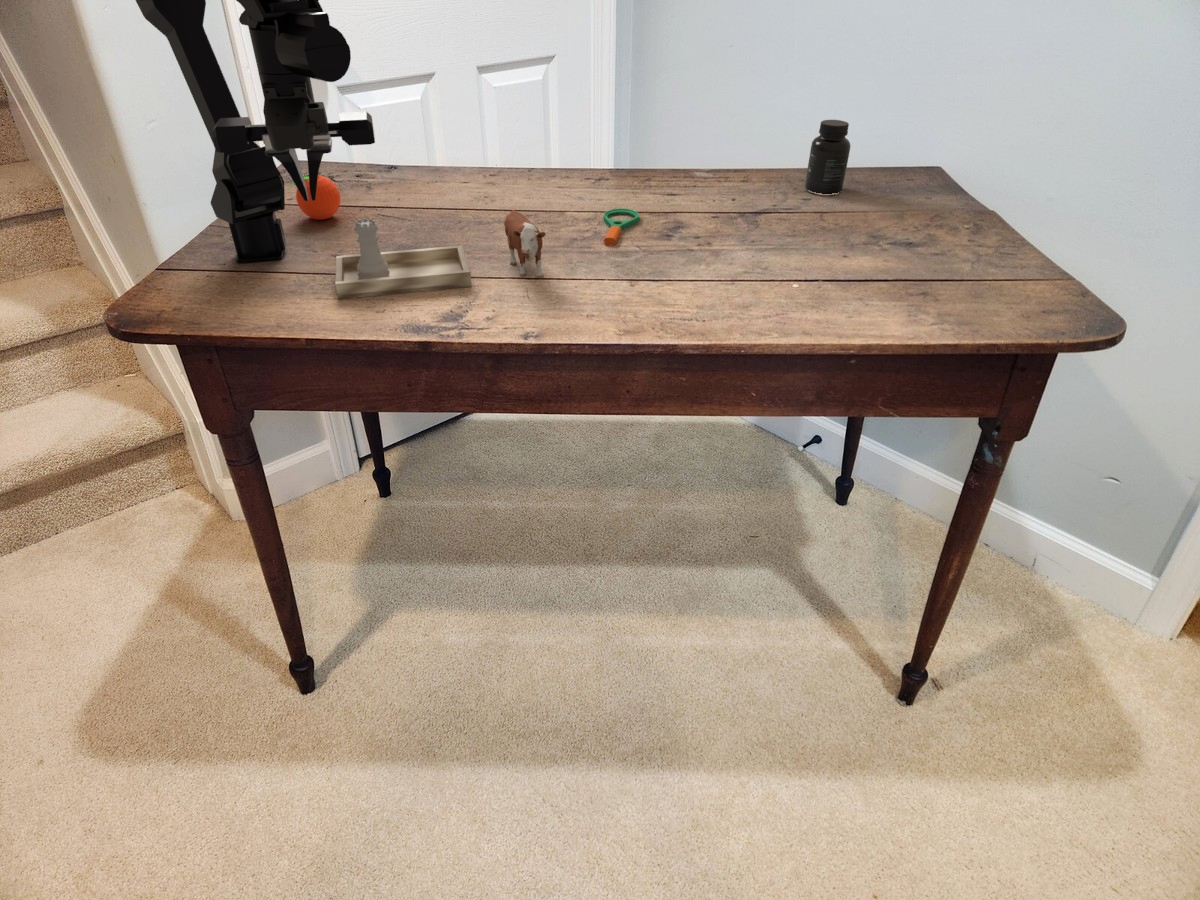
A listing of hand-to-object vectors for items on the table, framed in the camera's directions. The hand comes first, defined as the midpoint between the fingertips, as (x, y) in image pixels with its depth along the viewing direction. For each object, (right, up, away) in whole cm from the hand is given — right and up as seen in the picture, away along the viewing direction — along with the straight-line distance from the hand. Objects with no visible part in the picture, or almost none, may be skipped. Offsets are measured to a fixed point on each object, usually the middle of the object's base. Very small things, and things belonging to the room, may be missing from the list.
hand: (310, 200), depth 104 cm
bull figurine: (+27, -7, +12) cm, 31 cm away
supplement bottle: (+79, +15, +43) cm, 92 cm away
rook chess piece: (+6, -8, +8) cm, 13 cm away
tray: (+10, -8, +9) cm, 16 cm away
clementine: (-9, +6, +29) cm, 31 cm away
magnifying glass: (+41, +3, +27) cm, 49 cm away
